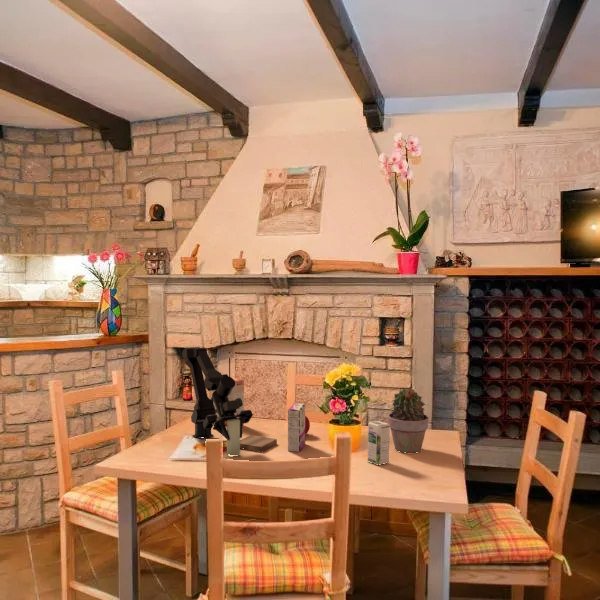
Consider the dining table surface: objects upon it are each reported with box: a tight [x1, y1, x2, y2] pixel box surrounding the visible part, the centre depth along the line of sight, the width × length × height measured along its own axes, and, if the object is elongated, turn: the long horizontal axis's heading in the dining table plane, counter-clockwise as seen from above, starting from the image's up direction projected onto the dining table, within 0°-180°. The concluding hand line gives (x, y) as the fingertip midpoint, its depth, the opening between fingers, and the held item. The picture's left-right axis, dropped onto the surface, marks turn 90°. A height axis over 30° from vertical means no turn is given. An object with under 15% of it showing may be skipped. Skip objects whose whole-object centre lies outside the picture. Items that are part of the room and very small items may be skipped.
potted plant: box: [387, 388, 432, 454], centre depth 216 cm, size 18×20×25 cm
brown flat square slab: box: [240, 434, 278, 453], centre depth 219 cm, size 12×12×2 cm
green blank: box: [226, 419, 241, 455], centre depth 207 cm, size 5×5×13 cm
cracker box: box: [214, 376, 245, 426], centre depth 252 cm, size 14×6×21 cm, turn 47°
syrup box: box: [367, 420, 391, 465], centre depth 200 cm, size 6×6×14 cm
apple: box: [305, 415, 311, 436], centre depth 235 cm, size 9×9×10 cm
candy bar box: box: [287, 402, 306, 453], centre depth 217 cm, size 11×5×16 cm, turn 168°
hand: (235, 438), depth 206 cm, fingers closed on green blank, 5 cm apart
